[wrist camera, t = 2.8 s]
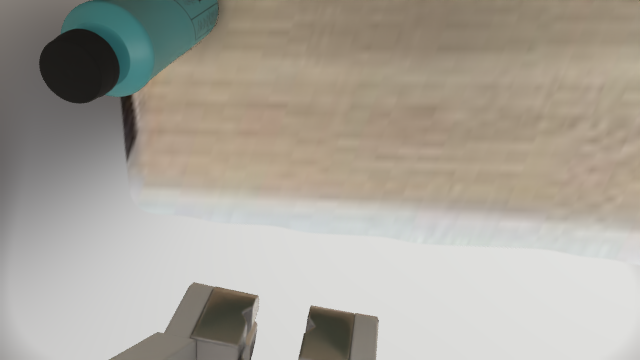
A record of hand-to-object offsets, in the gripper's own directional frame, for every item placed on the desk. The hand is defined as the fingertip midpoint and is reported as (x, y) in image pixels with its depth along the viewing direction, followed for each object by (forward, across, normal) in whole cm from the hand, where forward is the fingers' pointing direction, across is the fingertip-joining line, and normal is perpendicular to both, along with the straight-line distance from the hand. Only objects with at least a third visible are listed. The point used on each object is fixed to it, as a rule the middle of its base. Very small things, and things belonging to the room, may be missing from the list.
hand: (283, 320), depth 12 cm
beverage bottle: (+39, +16, +3) cm, 43 cm away
